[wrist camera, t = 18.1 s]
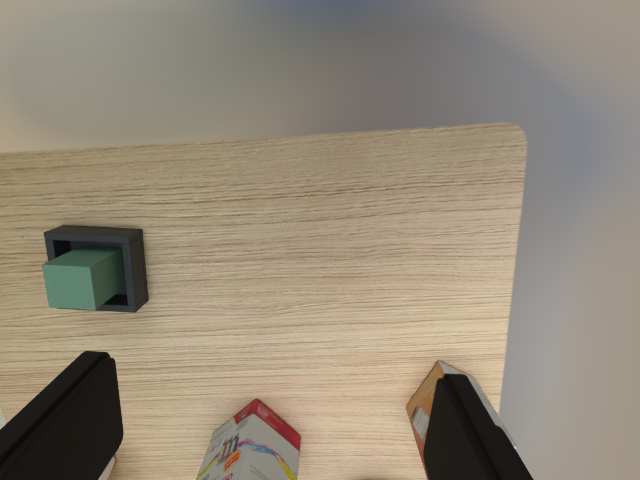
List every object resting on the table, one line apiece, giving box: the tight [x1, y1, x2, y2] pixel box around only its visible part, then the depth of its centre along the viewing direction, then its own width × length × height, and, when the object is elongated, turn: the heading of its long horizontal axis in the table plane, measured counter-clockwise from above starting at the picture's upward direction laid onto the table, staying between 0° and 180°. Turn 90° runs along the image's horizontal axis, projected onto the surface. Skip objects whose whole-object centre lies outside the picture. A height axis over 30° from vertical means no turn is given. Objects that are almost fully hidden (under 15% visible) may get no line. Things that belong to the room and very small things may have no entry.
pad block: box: [42, 246, 126, 310], centre depth 38 cm, size 4×4×6 cm
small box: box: [406, 361, 517, 480], centre depth 41 cm, size 8×6×10 cm
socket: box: [44, 225, 148, 312], centre depth 40 cm, size 9×9×3 cm
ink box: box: [196, 399, 301, 480], centre depth 42 cm, size 9×9×12 cm
